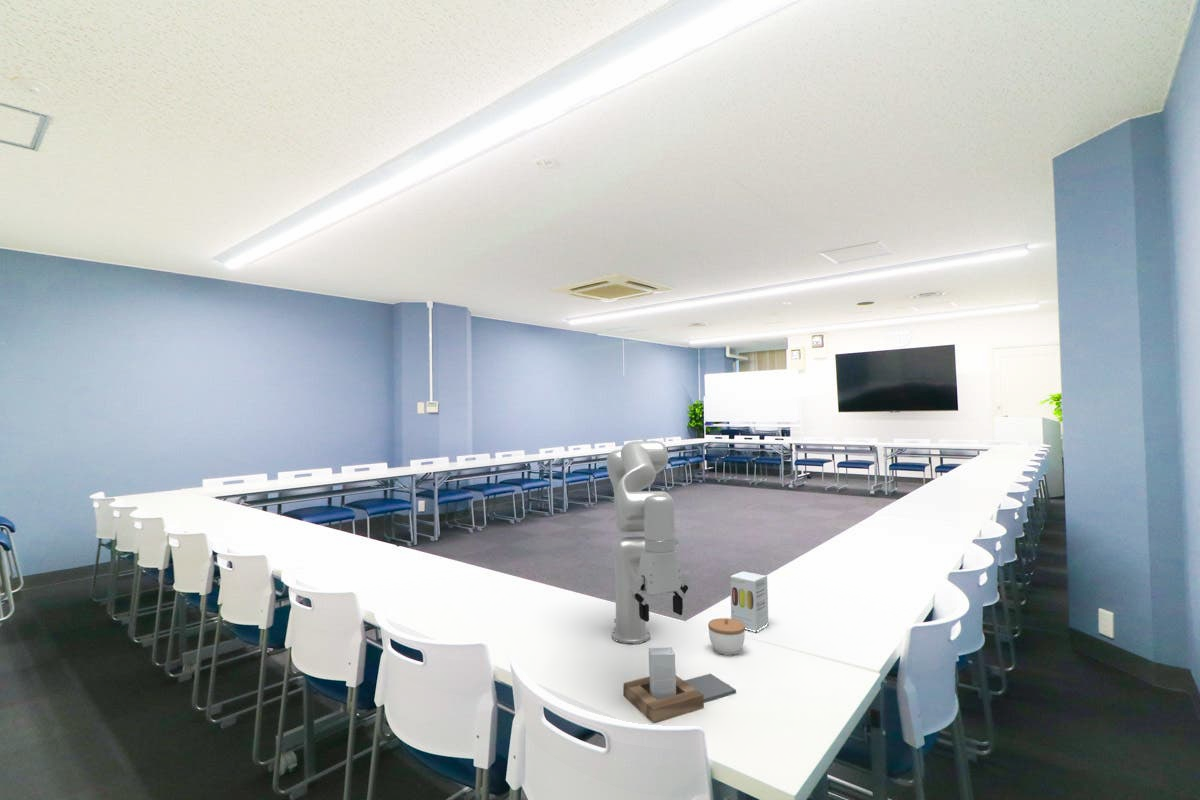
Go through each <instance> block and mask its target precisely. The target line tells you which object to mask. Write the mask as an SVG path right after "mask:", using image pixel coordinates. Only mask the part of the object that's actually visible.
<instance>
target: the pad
mask: <svg viewBox="0 0 1200 800" xmlns="http://www.w3.org/2000/svg"><path fill="white" fill-rule="evenodd" d="M683 681H685V682H686V683H688V684H689V685H691V686H692V687H693V688H695V689H696V690H698V691H699V692H700V693H702V694H703V695H704V703H706V702H711V701H713V700H717V699H720V698H724V697H727V696H731V695H735V694H736V693H737V689H736V688H734V687H732V686H731V685H729V684H728V683H726V682H725V681H723V680H721V679H720V678H718V677H717V676H715V674H714V675H713V674H712V673H708V674H707V673H706V674H704V675H701V676H696V677H692V678H689V679H685V680H684V679H683Z"/></svg>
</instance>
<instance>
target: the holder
mask: <svg viewBox="0 0 1200 800" xmlns="http://www.w3.org/2000/svg"><path fill="white" fill-rule="evenodd" d="M622 691H623V697H625V699H626V700H627V701H629V703H631V704H632V705H633V706H634V707H635V708H636V709H637V710H639V711H640V712H641V713H642V714H643V715H644V716H645V717H646V718H647V719H649V720H650V721H651V722H652V723H653V724H655V723H656V724H657V723H659V722H662V721H666V720H669V719H671V718H675V717H679V716H682V715H685V714H688V713H692V712H697V711H699V710H702V709H704V708H705V702H704V695H703V694H702V693H700V692H699V691H698V690H696V689H695V688H693V687H692V686H691V685H689V684H688V683H686V682H685V681H684V679H682V678H681V677H679V676H678V675H676V695H674V696H670V697H667V698H663V699H660V700H657V699H656V698H654V697H653V696H652V695H651V694H650V679H649V676H645V677H643V678H638V679H634V680H633V679H632V680H630V681H626V682H623V690H622Z"/></svg>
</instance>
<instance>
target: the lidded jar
mask: <svg viewBox="0 0 1200 800" xmlns="http://www.w3.org/2000/svg"><path fill="white" fill-rule="evenodd" d="M707 626H708V634H709V641H710V643H711V645H712V647H714V649H715V650H716V652H717V651H718V652H717V653H719V654H721V653H722V654H721V655H724V654H728V655H727V656H733V655H732V654H734V655H737V654H738V653H737V652H739V651H740V650H741V649H742V648H743V645H744V642H745V639H746V638H745V637H746V636H745V635H746V634H745V633H746V630H745V625H744V624H743V623H742V622H740V621H737V620H734V619H731V618H728V617H727V618H726V617H722V618H721V617H720V618H714V619H711V620H710V621H709V622H708V624H707ZM736 653H737V654H736Z"/></svg>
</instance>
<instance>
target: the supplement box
mask: <svg viewBox="0 0 1200 800" xmlns="http://www.w3.org/2000/svg"><path fill="white" fill-rule="evenodd" d="M730 619H734V620H737V621H740V622H742V623H743V624H744V625H745V628H747V629H751V630H755V631H757V630H759V629H760V628H762V627H763V626H765V625H766V624H767V623H768V624H769V593H768V575H764V574H759V573H755V572H749V571H748V572H747V571H745V570H743V571H740V572H737V573H735V574H734V573H733V574H732V575H731V576H730Z"/></svg>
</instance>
